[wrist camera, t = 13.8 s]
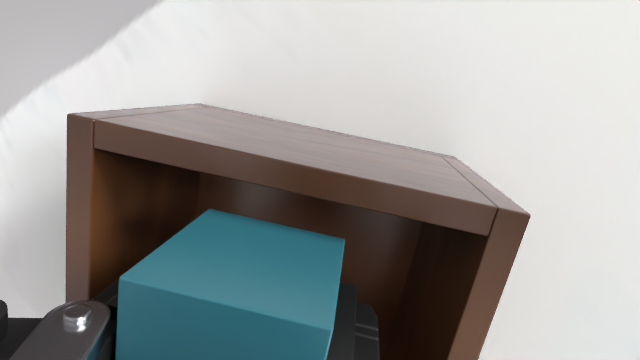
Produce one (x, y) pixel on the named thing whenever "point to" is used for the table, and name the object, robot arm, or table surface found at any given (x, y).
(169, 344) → the block
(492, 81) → the table surface
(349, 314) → the robot arm
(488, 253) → the chest
